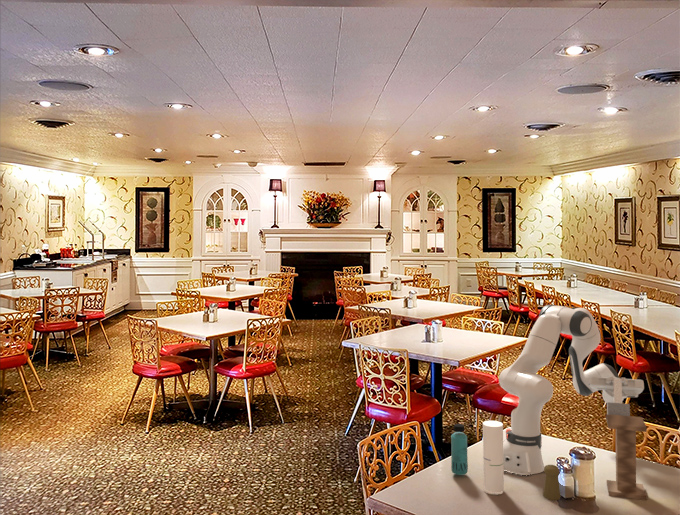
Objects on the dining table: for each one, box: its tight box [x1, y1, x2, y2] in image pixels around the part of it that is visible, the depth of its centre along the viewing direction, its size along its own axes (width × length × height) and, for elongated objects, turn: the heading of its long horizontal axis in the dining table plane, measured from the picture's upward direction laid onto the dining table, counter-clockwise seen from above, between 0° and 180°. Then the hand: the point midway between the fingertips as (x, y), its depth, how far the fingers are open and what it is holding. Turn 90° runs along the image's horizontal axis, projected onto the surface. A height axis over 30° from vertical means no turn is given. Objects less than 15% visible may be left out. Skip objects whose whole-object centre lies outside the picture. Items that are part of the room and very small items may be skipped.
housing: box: [606, 377, 631, 416], centre depth 230 cm, size 8×18×3 cm
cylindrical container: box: [482, 420, 505, 492], centre depth 208 cm, size 7×7×25 cm
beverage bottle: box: [450, 423, 469, 476], centre depth 223 cm, size 6×7×20 cm
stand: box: [605, 413, 648, 501], centre depth 205 cm, size 12×12×26 cm
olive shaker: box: [542, 464, 562, 501], centre depth 203 cm, size 6×6×11 cm
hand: (617, 378), depth 231 cm, fingers closed on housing, 3 cm apart
